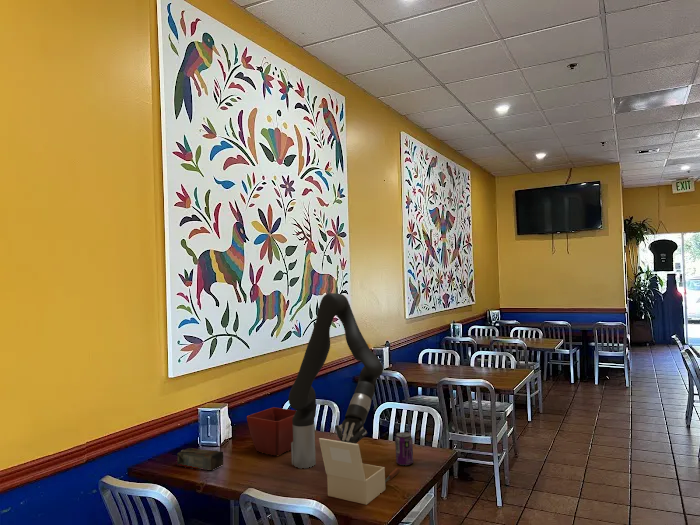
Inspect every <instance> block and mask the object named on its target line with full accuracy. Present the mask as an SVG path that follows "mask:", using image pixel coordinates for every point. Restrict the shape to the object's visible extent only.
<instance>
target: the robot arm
mask: <svg viewBox="0 0 700 525" xmlns="http://www.w3.org/2000/svg"><path fill="white" fill-rule="evenodd" d="M335 316H336V317H337V318H338V320H340V323H341V325H342V327H343V329H344V334H345V342H346V344H347V347H348V348H349V349H348V350H350V352H351V354H352V356H353V358H354V359H355V360H356V361H358V362H361V363H362V364H363V367H362V368H361V370H360V374H359V376H358V379H357V380H358V381H357V385H356V388H355V390H354V394H352V398H350V402H349V405H348V407H347V410H346V412H345V417H344V420H342V422H341V423H340V425H339V424H338V425H337V424H336V425H335V431H336V434H337V437H338V439H339V441H342V442H348V443H354V444H358V442H360V441H361V440H363V438H364V437H366V436H367V435H368V432H367V430H366V428H364V427H365V425H364V424H365V423H366V420H367V417H368V414H369V411H370V408H371V405H372V401H373V399H374V398H373V397H374V394H375V389H376V388H375V385H376V382H377V380H378V379H379V378H380V377H381V376H382V374H383V372H384V367H383V364H382V362H381V360H380V358H378V356H377V355H376V354H375V353H374V352H373V351H372V350H371V348H370V347H369V344H368V343H367V342H366V339H365V338H364V335H363V334H362V332H361V330H360V328H359V326H358V323H357V321H356V318H355V315H354V313H353V311H352V308H351V304H350V303H349V300H348V298H347V296H346V295H344V294H341V293H334V292H328V293H325V295H324V296H322V298H321V300H320V302H319V307H318V311H317V316H316V319H315V324H314V326H313V329H312V332H311V335H310V338H309V341H308V344H307V346H306V349H305V352H304V355H303V358H302V362H301V363H300V364H301V365H300V368H299V371H298V373H297V376H296V378H295V380H294V382H293V384H292V386H291V389H290V391H289V393H288V404H289V406H290V407H291V408H292V410H295V411H296V413H295V415H294V416H293V419H292V424H293V442H291V450H290V451H291V466H293V465H294V466H295V468H296V467H298V469H302V468H304V469H310V468H313V467H314V465H315V466H316V464H317V463H316V440H315V439H316V437H315V436H316V434H315V432H316V431H315V418H316V412H317V396H316V391H315V388H314V387H313V386H312V385H313V382H314V380H315V379H316V377H317V376H318V374H319V373H320V371H321V369H322V368H323V367H324V366H325V362H326V360H327V358H328V356H329V352H330V349H331V335H330V334H331V333H330V331H331V326H332V323H333V321H334V318H335ZM294 466H293V467H294ZM312 466H313V467H312ZM309 467H310V468H309Z"/></svg>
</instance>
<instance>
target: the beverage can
mask: <svg viewBox="0 0 700 525" xmlns="http://www.w3.org/2000/svg"><path fill="white" fill-rule="evenodd" d="M394 440H395V461H396V462H395V463H396V464H398V465H400V466H404V465H405V467H407V466H410V465H411V464H413V463H414V450H413V448H414V446H413V437H412V434H411V433H410V432H406V431H402V432H397V433H396V434H395V439H394Z"/></svg>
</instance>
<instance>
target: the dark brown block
mask: <svg viewBox="0 0 700 525" xmlns="http://www.w3.org/2000/svg"><path fill="white" fill-rule="evenodd" d="M176 455H177V459H176V460H177V465H178V464H182V465H187V466H192V467H198V468H203V469H209V470H213V469H215V468H217V467H219V466H221V465H223V466H224V451H219V450H211V449H201V448H193V447H188V448H186V449H182V450H180V451H179V452H177V454H176ZM221 467H222V466H221ZM219 468H220V467H219ZM217 469H218V468H217ZM215 470H216V469H215ZM213 471H214V470H213Z"/></svg>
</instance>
